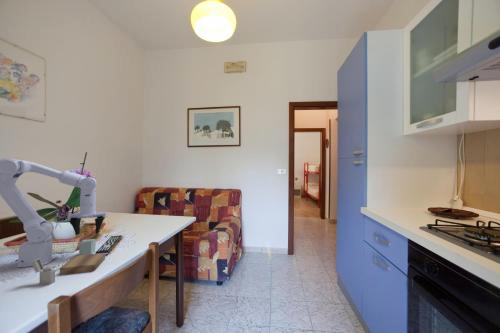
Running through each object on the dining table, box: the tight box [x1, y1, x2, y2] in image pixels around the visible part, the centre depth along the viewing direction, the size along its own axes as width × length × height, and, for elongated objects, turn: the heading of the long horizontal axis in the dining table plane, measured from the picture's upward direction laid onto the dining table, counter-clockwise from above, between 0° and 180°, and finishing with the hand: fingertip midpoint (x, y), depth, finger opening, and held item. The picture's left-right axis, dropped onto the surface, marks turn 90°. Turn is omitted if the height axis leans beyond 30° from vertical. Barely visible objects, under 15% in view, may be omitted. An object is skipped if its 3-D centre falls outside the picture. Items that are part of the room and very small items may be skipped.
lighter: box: [31, 259, 56, 285], centre depth 72 cm, size 7×2×8 cm, turn 87°
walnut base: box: [59, 252, 106, 276], centre depth 84 cm, size 11×11×3 cm
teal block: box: [78, 238, 96, 255], centre depth 95 cm, size 4×4×6 cm
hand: (87, 233), depth 95 cm, fingers open, 7 cm apart
